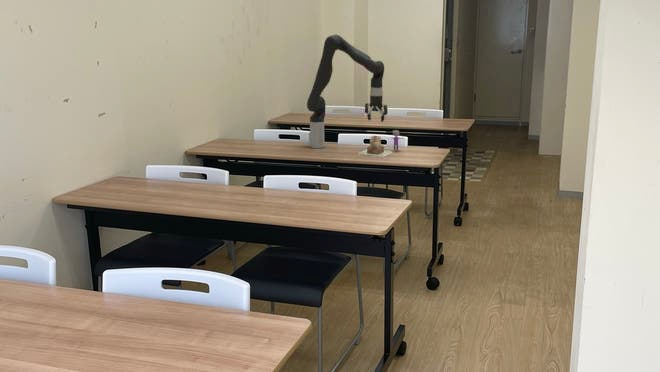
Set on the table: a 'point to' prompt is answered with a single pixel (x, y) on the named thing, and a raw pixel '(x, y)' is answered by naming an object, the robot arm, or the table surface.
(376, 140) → the top brick
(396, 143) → the toy
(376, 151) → the base brick
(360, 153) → the build plate
